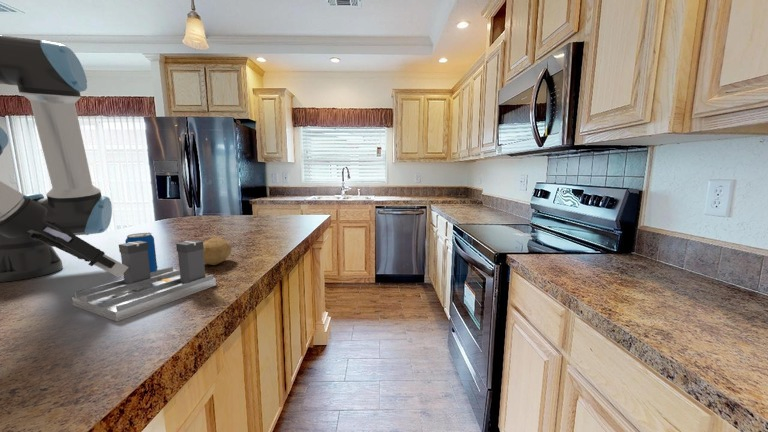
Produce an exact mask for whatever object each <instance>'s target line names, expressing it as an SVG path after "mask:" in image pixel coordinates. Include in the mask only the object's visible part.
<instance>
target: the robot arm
mask: <svg viewBox="0 0 768 432" xmlns="http://www.w3.org/2000/svg"><path fill="white" fill-rule="evenodd" d="M87 83H88V80H87V76H86V73H85V70H84V67H83V65H82V63H81V61H80V59H79V57H78V56H77V55H76V53H75V52H74V51H73V50H72V49H71V48H69V46H67V45H64V44H62V43H58V42H53V41H47V40H42V39H34V38H33V39H32V38H27V37H26V38H24V37H17V36H8V35H1V34H0V85H8V86H17V89H18V93H19V95H21V96H22V97H24V98H26V99H27V100H28V101H29V103H30V106H31V110H32V114H33V118H34V122H35V125H36V129H37V132H38V138H39V141H40V145H41V150H42V153H43V156H44V161H45V165H46V168H47V171H48V172H47V173H48V176H49V180H50V184H51V189H50V190H48V192H47V193H46V197H45V196H44V194H43V193H33V194H25V195H24V194H23V193H21V192H19V191H18V190H16V189H14V188H13V187H12V186H9V185H8V184H6V183H5V182H3V181H1V180H0V283H4V282H13V281H15V282H16V281H21V280H27V279H32V278H37V277H41V276H45V275H46V276H47V275H50V274H53V273H56V272H59V271H60V270H62V269H63V268H64V266H63V261H62V259H61V257H60V256H59V254H58V253H57V252H56V250H55V248H56V249H59V250H61V251H63V252H65V253H67V254H70V256H71V255H72V256H73V257H75V258H77V259H78V260H83V261H84V262H89V263H88V265H89V266H90V267H93V266H95V267H98V268H99V269H102V270H104V271H105V272H107V273H110V274H112V275H113V276H115V277H118V278H122V276H124V275H123V273H124V272H125V271H126V270H127V269H128V268H129V267H127V266H125V265H123V264H122V262H120V261H118V260H115V259H114V258H112V257H110V256H108V255H107V254H106V252H104V251H103V250H101V249H100V248H97V247H95V246H94V245H92V243H91V244H90V243H89V242H87V241H86V240H84V239H82V238H80V237H79V236H83V235H84V236H85V235H86V236H89V235H93V234H96V235H97V234H102V233H104V232H105V231H107V229H108V228H110V227H109V226H110V224H111V221H112V214H113V205H112V201H111V199H110V197H108V196H105V195H102V193H101V189H99V188H98V187H96V186H94V185H93V182H92V177H91V173H90V168H89V167H90V166H89V163H88V158H87V154H86V149H85V148H86V147H85V145H84V139H83V134H82V131H81V125H80V121H79V115H78V111H77V107H76V103H77V102H78V101H79V100H80V99H81V97H82V96H81V92H85V91H87V89H88V84H87ZM8 144H9V136H8V134H7V132H6V131H5V130H4V128H2V127H1V126H0V156H1V155H2V154H3V153H4V149H5V148H7V146H8Z"/></svg>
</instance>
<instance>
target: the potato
mask: <svg viewBox="0 0 768 432" xmlns="http://www.w3.org/2000/svg"><path fill="white" fill-rule="evenodd" d="M203 246H204V249H203V255H204V264H206V265H211V266H217V265H218V264H220V263H222V262H224V261H226V260H227V259H228V257H229V256H230V255H231V253H232V247H231V246H230V244H229V243H228V241H227V240H226V239H224V238H221V237H212V238H210V239H207V240H204V241H203Z"/></svg>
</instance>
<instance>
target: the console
mask: <svg viewBox="0 0 768 432" xmlns="http://www.w3.org/2000/svg"><path fill="white" fill-rule="evenodd" d="M150 276H151V278H148V279H144V280H141V281H137V282H134V283H130V284H126V283H124V278H122V279H119V280H116V281H112V282H108V283H104V284H101V285H97V286H93V287H89V288H85V289H82V290H78V291H75V292H74V296H72V297H71V299H72V305H73V307H76V308H79V309H81V310H84V311H86V312H89V313H93V314H95V315H97V316H100V317H103V318H107V319H109V320H112V321H114V322H120V321H123V320H125V319H128V318H131V317H133V316H136V315H139V314H142V313H144V312H147V311H150V310H153V309H155V308H158V307H161V306H163V305H166V304H168V303H172V302H174V301H176V300H181V299H182V298H185V297H188V296H190V295H194V294H196V293H199V292H202V291H204V290H207V289H210V288H212V287H216V286H217V282H216V281H217V280H216V279H217V278H216V277H214V274H209V275H205V277H202V278H199V279H196V280H193V281H190V282H187V283H183V282H181V278H180V269H174V267H173V266H169V267H168V266H167V267H164V268H160V269H157V270H156V271H153V272H150Z"/></svg>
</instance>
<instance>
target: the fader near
mask: <svg viewBox="0 0 768 432" xmlns="http://www.w3.org/2000/svg"><path fill="white" fill-rule="evenodd" d="M118 250H119V253H120V257H121V258H120V259H121V263H122V264H123V265H125V266H127V267H129V268H128V269H127V270H126V271H125V272H124V273H123V275H122V276H123V279H124V283H126V284H130V283H134V282H137V281H141V280H144V279H148V278H151V276H150V267H149V258H148V242H143V241H136V242H128V243H126V242H125V243H120V244H119V243H118Z"/></svg>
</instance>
